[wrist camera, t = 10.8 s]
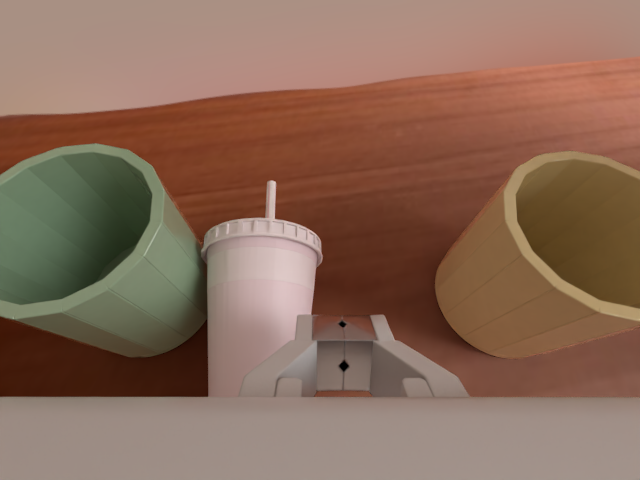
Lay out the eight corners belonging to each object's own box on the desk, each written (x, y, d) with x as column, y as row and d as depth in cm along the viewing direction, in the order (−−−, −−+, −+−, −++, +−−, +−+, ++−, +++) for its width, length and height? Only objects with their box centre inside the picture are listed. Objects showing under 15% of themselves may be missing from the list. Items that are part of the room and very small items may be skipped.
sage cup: (190, 219, 22) (129, 120, 15) (238, 312, 20) (193, 247, 12) (74, 273, 20) (-63, 190, 13) (108, 386, 18) (-44, 363, 10)
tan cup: (494, 222, 23) (583, 128, 15) (587, 314, 20) (752, 252, 12) (409, 275, 21) (464, 197, 13) (498, 387, 18) (633, 365, 10)
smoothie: (345, 441, 16) (333, 194, 22) (293, 470, 10) (296, 128, 16) (230, 438, 18) (247, 211, 24) (134, 462, 12) (187, 158, 18)
